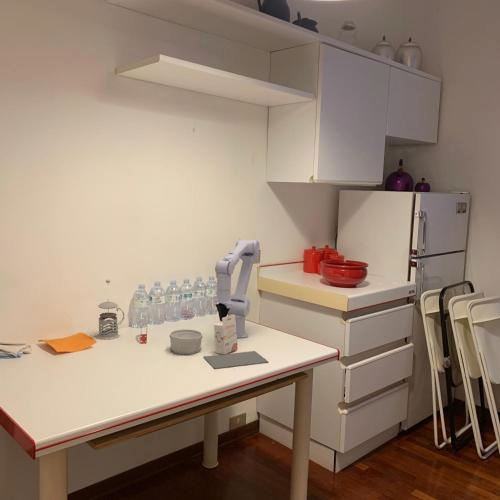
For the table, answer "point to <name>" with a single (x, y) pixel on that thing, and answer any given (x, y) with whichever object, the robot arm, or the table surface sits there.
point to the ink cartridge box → (226, 335)
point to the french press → (108, 321)
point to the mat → (235, 359)
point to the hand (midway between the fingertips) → (222, 321)
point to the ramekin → (185, 341)
